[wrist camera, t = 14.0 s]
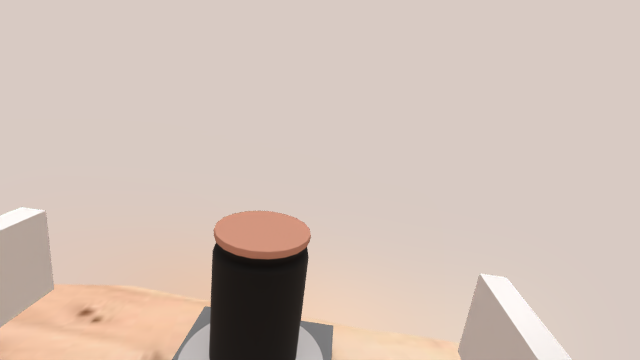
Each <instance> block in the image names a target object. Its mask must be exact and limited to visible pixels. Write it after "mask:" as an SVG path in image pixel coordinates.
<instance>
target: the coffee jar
mask: <svg viewBox="0 0 640 360" xmlns="http://www.w3.org/2000/svg"><path fill="white" fill-rule="evenodd" d="M214 237H215V240H216V244H215V247H214V249H213V260H212V287H211V313H210V340H209V359H210V360H295V359H296V355H297V346H298V338H299V330H300V322H301V314H302V305H303V296H304V289H305V280H306V272H307V264H308V252H307V245H308V243H309V241H310V237H311V235H310V229H309V228H308V227H307V225H306V224H305V223H304V222H302V221H300V220H298V219H297V218H294V217H291V216H288V215H285V214H281V213H276V212H269V211H245V212H240V213H235V214H232V215H229V216H226V217H224V218H223V219H221V220H220V221H218V222H217V224H216V226H215V228H214Z"/></svg>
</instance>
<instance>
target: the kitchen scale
mask: <svg viewBox="0 0 640 360" xmlns="http://www.w3.org/2000/svg"><path fill="white" fill-rule="evenodd" d="M210 313H211V307H206V306H205V307H204V309H203V311H202V312H201V314H200V315H199V317H198V319H197V320H196V322H195V324H194V325H193V327H192V328H191V330H190V332H189V333H188V335H187V336H186V338H185V340H184V341H183V343H182V344H181V346H180V348H179V349H178V351H177V353H176V354H175V356H174V357H173V359H172V360H210V359H209V340H210ZM332 337H333V326H332V325H325V324H319V323H312V322H305V321H301V322H300V330H299V338H298V346H297V355H296V359H295V360H331V356H332Z"/></svg>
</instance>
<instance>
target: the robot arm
mask: <svg viewBox="0 0 640 360" xmlns="http://www.w3.org/2000/svg"><path fill="white" fill-rule="evenodd" d="M53 289H54V284H53V274H52V265H51V255H50V246H49V237H48V227H47V217H46V211H45V210H39V209H31V208H24V207H21V208H18V209H15V210H13V211H10V212H8V213H5V214H3V215H0V327H2V326H3V325H4V324H6V323H7V322H8V321H10V320H11V319H13V318H14V317H15V316H17V315H18V314H20V313H21V312H22V311H24V310H25V309H27V308H28V307H29V306H31V305H32V304H34V303H35V302H36V301H38V300H39V299H41V298H42V297H43V296H45V295H46V294H48V293H49V292H50V291H52V290H53ZM458 353H459V355H460V357H461V360H572V359H571V358H570V356H569V355H568V354H567V353H566V351H565V350H564V349H563V348H562V346H561V345H560V344H559V343H558V341H557V340H556V339H555V338H554V336H553V335H552V334H551V333H550V331H549V330H548V329H547V328H546V326H545V325H544V324H543V323H542V321H541V320H540V319H539V318H538V316H537V315H536V314H535V313H534V312H533V310H532V309H531V308H530V307H529V305H528V304H527V303H526V301H525V300H524V299H523V298H522V296H521V295H520V294H519V293H518V291H517V290H516V289H515V288H514V286H513V285H512V284H511V283H510V282H509V280H508V279H507V278H506V277H500V276H493V275H486V274H480V275H479V278H478V281H477V285H476V289H475V292H474V295H473V299H472V303H471V306H470V310H469V313H468V317H467V321H466V324H465V327H464V331H463V335H462V338H461V342H460V345H459V349H458Z"/></svg>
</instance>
